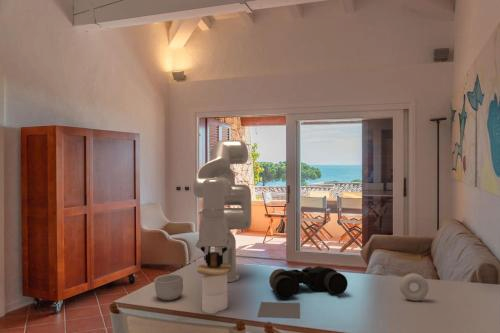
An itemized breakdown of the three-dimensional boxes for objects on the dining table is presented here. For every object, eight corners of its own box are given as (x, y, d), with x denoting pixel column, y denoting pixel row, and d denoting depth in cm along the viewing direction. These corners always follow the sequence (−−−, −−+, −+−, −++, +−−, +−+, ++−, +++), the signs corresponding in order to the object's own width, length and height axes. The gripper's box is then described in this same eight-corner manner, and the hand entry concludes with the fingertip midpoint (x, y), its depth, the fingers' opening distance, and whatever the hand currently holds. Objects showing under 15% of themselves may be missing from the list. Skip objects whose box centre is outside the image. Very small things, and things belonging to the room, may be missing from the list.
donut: (427, 299, 145) (427, 272, 145) (429, 303, 142) (429, 275, 142) (399, 298, 148) (398, 271, 147) (400, 301, 144) (400, 274, 144)
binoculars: (276, 303, 143) (275, 275, 144) (262, 290, 163) (261, 265, 164) (348, 296, 149) (347, 269, 150) (326, 284, 169) (325, 261, 170)
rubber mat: (261, 304, 143) (261, 301, 143) (299, 305, 141) (299, 303, 141) (257, 319, 129) (257, 316, 129) (299, 320, 127) (299, 318, 127)
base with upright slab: (207, 315, 133) (207, 280, 133) (198, 306, 141) (198, 273, 141) (231, 310, 137) (231, 276, 137) (221, 302, 145) (221, 270, 145)
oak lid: (201, 265, 146) (201, 249, 145) (233, 266, 144) (233, 249, 144) (193, 274, 134) (193, 256, 134) (228, 275, 132) (227, 257, 132)
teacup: (176, 303, 144) (176, 282, 144) (149, 301, 147) (149, 280, 147) (190, 291, 158) (189, 271, 158) (164, 290, 160) (164, 270, 160)
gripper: (188, 215, 136) (188, 267, 136) (234, 215, 134) (235, 268, 134) (194, 212, 144) (194, 262, 144) (238, 212, 141) (238, 263, 142)
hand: (214, 265), depth 139 cm, fingers closed on oak lid, 3 cm apart
